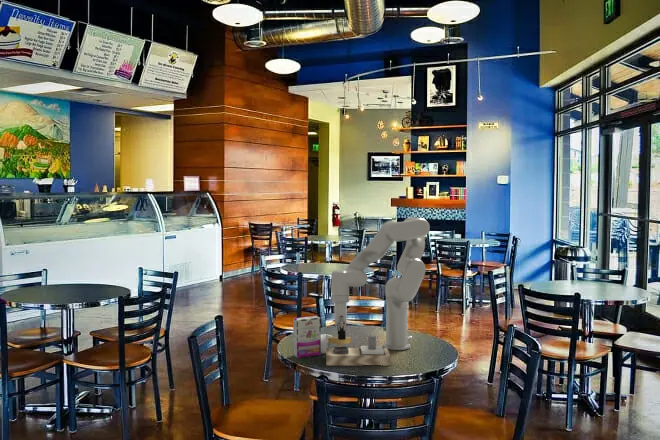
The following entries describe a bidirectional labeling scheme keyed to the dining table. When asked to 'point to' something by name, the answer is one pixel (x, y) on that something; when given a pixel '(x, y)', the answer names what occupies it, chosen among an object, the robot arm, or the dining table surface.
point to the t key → (339, 342)
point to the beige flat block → (355, 357)
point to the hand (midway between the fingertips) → (341, 336)
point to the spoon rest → (324, 342)
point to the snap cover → (372, 347)
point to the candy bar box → (306, 336)
